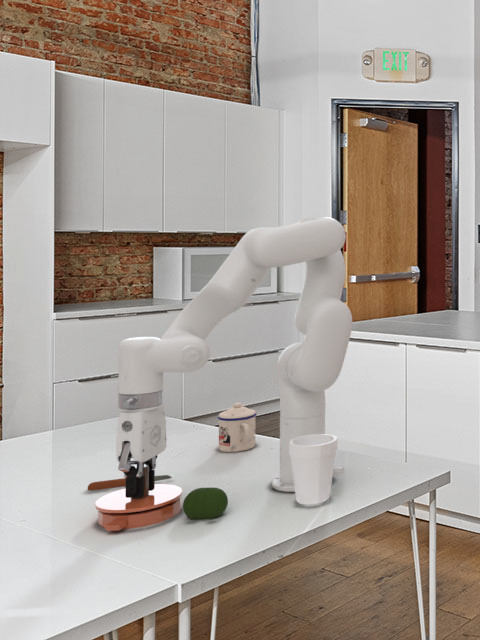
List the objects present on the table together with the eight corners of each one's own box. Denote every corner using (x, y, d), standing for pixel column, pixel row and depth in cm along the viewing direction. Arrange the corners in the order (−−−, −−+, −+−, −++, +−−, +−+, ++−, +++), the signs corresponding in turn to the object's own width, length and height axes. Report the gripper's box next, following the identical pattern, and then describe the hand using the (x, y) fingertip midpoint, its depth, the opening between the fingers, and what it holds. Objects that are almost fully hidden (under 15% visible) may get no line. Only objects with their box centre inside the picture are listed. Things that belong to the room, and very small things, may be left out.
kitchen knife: (87, 493, 158) (87, 484, 158) (88, 491, 159) (88, 482, 159) (171, 482, 165) (171, 473, 165) (172, 480, 167) (172, 471, 167)
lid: (195, 489, 152) (196, 454, 152) (159, 515, 138) (159, 477, 138) (122, 490, 151) (122, 455, 151) (77, 517, 137) (77, 478, 137)
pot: (199, 499, 155) (199, 485, 155) (150, 536, 136) (151, 520, 136) (131, 501, 154) (131, 487, 154) (73, 538, 135) (73, 522, 135)
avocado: (233, 512, 148) (233, 482, 148) (219, 524, 142) (220, 493, 142) (191, 513, 147) (191, 483, 147) (176, 525, 141) (176, 494, 141)
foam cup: (322, 490, 161) (322, 431, 161) (345, 500, 155) (346, 439, 155) (280, 502, 153) (280, 440, 153) (303, 513, 147) (303, 449, 147)
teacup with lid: (212, 447, 193) (212, 403, 192) (248, 440, 199) (249, 397, 199) (228, 457, 184) (229, 411, 184) (266, 450, 191) (266, 405, 190)
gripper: (138, 410, 137) (137, 508, 137) (181, 391, 153) (180, 479, 153) (95, 410, 136) (94, 509, 136) (143, 391, 152) (142, 480, 152)
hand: (140, 492), depth 145 cm, fingers closed on lid, 3 cm apart
